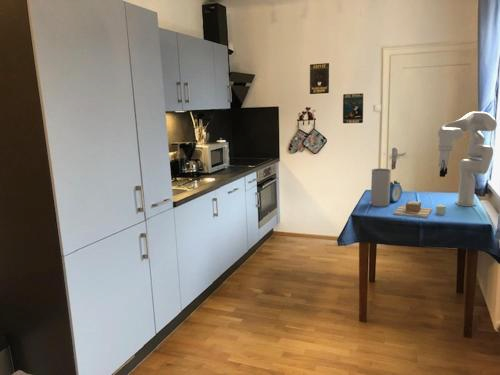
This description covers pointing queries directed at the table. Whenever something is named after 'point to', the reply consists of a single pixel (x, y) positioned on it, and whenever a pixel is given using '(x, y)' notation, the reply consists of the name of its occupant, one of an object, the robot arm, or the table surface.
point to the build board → (421, 214)
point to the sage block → (441, 209)
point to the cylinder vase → (380, 187)
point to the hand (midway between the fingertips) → (443, 175)
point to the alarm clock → (395, 191)
